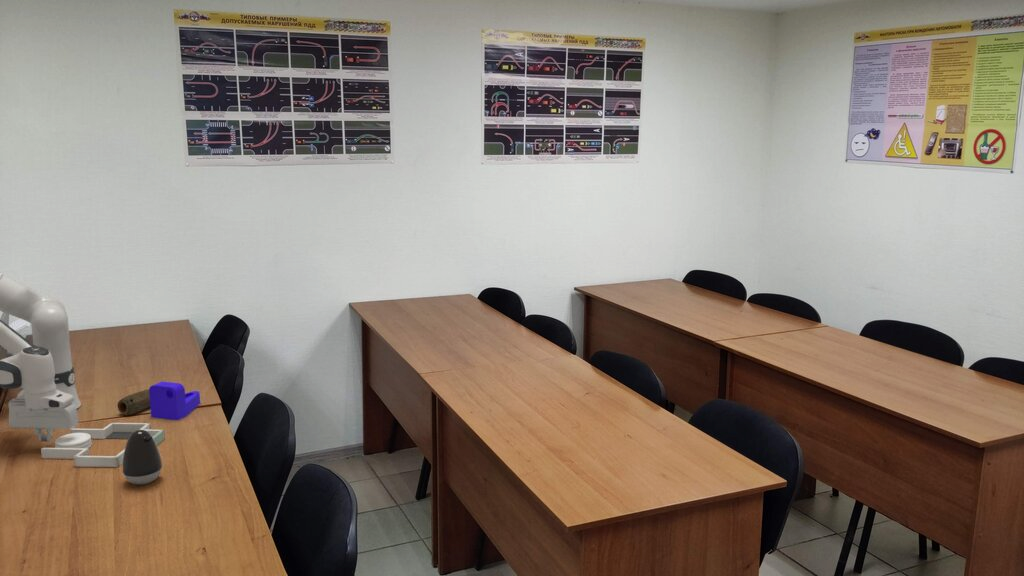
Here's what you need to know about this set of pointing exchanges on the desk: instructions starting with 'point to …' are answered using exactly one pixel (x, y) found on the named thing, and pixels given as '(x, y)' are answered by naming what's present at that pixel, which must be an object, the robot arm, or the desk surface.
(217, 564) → the desk surface
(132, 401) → the brown hollow cylinder
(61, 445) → the coaster
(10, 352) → the robot arm
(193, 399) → the bracket
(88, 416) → the desk surface
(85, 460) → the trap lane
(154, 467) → the dark grey egg shape
